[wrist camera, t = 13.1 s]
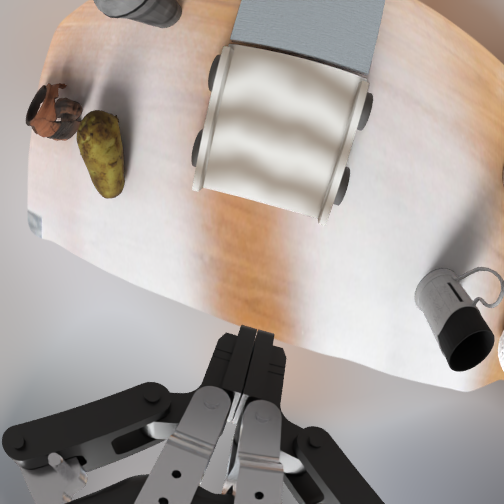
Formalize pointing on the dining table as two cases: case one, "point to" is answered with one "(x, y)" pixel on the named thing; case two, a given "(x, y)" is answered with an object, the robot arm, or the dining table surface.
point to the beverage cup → (143, 11)
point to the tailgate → (313, 29)
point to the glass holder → (456, 317)
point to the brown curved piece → (53, 114)
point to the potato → (102, 151)
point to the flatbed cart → (279, 130)
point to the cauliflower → (501, 350)
